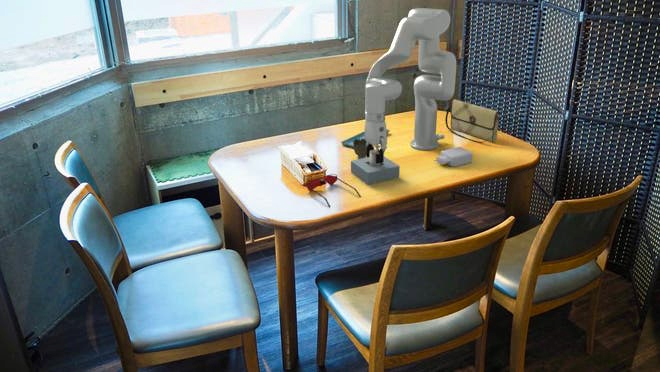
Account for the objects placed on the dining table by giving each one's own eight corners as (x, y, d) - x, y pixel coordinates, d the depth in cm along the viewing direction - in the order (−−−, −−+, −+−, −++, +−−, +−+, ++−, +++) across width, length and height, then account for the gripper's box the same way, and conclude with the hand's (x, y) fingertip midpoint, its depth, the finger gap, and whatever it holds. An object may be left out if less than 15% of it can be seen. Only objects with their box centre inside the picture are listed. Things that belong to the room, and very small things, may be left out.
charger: (428, 163, 228) (457, 156, 234) (442, 170, 220) (471, 163, 226) (429, 152, 226) (458, 146, 232) (443, 159, 218) (472, 152, 224)
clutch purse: (441, 130, 264) (443, 100, 258) (451, 127, 268) (453, 97, 262) (490, 147, 242) (493, 114, 236) (500, 144, 246) (504, 111, 239)
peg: (376, 172, 220) (376, 149, 216) (381, 175, 217) (381, 152, 213) (367, 174, 219) (367, 150, 215) (372, 177, 216) (372, 154, 211)
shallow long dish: (356, 150, 244) (356, 145, 243) (340, 146, 250) (340, 141, 249) (390, 134, 262) (390, 129, 261) (374, 131, 268) (374, 126, 267)
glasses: (336, 183, 213) (336, 171, 211) (361, 198, 200) (361, 185, 198) (305, 192, 206) (305, 180, 204) (329, 208, 193) (329, 195, 191)
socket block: (381, 165, 226) (381, 154, 224) (399, 177, 215) (399, 165, 213) (350, 172, 221) (350, 160, 219) (367, 184, 209) (367, 172, 207)
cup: (369, 162, 230) (369, 144, 227) (351, 161, 232) (351, 143, 228) (371, 155, 237) (371, 138, 234) (354, 154, 238) (354, 137, 235)
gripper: (395, 120, 202) (394, 165, 209) (372, 108, 216) (372, 151, 224) (378, 123, 199) (377, 169, 207) (355, 111, 213) (356, 154, 221)
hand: (374, 159), depth 215 cm, fingers open, 6 cm apart
